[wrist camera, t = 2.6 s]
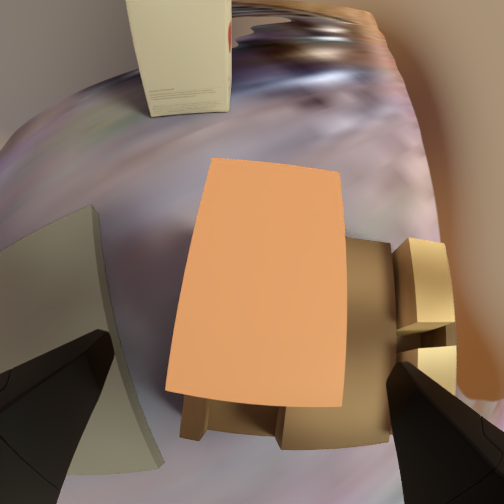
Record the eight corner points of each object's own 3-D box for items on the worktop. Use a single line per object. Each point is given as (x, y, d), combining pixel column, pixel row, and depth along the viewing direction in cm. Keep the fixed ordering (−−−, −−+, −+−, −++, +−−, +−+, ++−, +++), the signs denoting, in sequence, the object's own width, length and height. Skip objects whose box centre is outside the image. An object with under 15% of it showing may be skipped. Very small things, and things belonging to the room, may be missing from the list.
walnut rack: (418, 422, 14) (451, 426, 10) (193, 423, 14) (179, 437, 11) (418, 272, 19) (446, 252, 15) (218, 251, 19) (212, 222, 16)
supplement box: (230, 114, 26) (228, -18, 13) (150, 119, 26) (121, -1, 12) (233, 76, 30) (233, -26, 16) (166, 81, 30) (151, -16, 16)
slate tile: (164, 462, 13) (158, 468, 12) (31, 467, 10) (21, 470, 9) (98, 214, 21) (91, 204, 19) (-4, 265, 18) (-13, 259, 17)
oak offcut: (415, 335, 16) (455, 321, 12) (380, 335, 16) (417, 322, 12) (410, 270, 18) (444, 243, 14) (377, 266, 18) (408, 237, 14)
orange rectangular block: (272, 382, 15) (341, 407, 4) (221, 376, 15) (164, 390, 4) (279, 302, 17) (339, 172, 6) (231, 297, 17) (212, 157, 6)
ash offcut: (410, 422, 13) (450, 429, 9) (374, 428, 13) (410, 440, 9) (415, 354, 15) (456, 345, 11) (380, 356, 15) (418, 348, 11)
